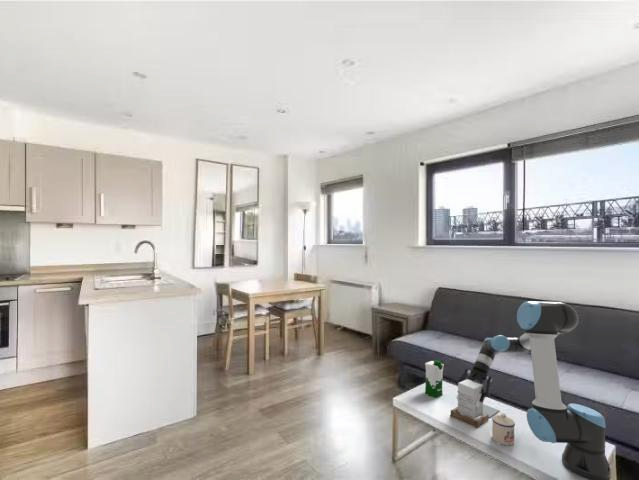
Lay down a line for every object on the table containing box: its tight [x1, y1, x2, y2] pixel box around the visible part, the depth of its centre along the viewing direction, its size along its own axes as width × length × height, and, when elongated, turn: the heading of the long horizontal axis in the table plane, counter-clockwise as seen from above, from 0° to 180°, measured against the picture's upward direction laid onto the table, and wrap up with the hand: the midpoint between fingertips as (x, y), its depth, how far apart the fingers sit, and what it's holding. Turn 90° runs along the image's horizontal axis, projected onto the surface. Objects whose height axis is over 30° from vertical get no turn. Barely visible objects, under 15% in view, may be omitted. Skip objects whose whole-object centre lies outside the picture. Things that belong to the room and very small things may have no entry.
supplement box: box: [457, 378, 484, 420], centre depth 168 cm, size 9×9×15 cm
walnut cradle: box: [450, 406, 489, 429], centre depth 167 cm, size 12×13×3 cm
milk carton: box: [424, 359, 445, 399], centre depth 194 cm, size 9×9×20 cm
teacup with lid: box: [491, 412, 516, 447], centre depth 149 cm, size 12×9×12 cm
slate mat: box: [481, 403, 501, 419], centre depth 176 cm, size 12×12×1 cm
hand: (467, 403), depth 166 cm, fingers closed on supplement box, 9 cm apart
